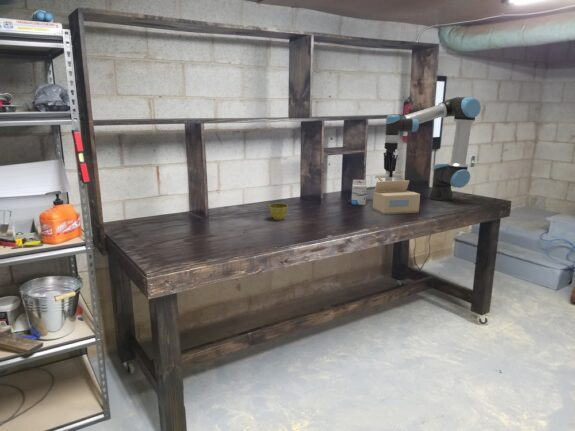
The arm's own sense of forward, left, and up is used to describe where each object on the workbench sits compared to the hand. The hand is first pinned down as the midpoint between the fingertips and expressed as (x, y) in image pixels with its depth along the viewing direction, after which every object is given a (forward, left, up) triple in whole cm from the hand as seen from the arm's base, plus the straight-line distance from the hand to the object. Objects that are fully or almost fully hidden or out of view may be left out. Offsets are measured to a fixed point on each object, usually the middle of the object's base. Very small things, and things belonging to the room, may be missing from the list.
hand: (388, 182), depth 263 cm
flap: (0, +5, -1) cm, 5 cm away
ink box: (+14, -10, -15) cm, 23 cm away
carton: (0, +11, -15) cm, 18 cm away
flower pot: (+71, +14, -15) cm, 74 cm away
